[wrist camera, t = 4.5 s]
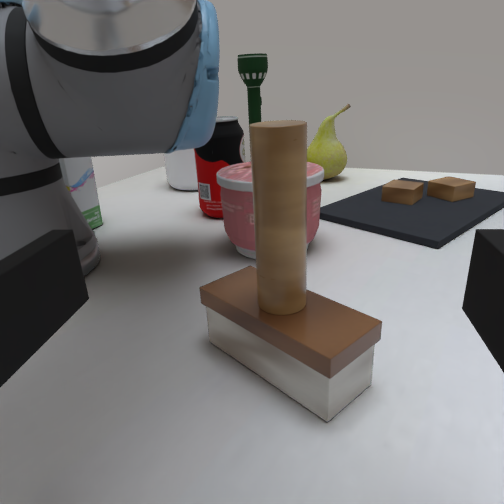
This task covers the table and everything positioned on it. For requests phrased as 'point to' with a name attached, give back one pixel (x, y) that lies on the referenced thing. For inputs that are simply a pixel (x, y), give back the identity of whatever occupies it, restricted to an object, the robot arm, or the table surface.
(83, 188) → the ink box
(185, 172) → the cup
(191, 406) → the table surface
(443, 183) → the chip
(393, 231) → the mat
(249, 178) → the container
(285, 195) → the brush
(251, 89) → the flashlight
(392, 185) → the chip
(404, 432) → the table surface
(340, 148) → the fruit
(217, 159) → the beverage can
